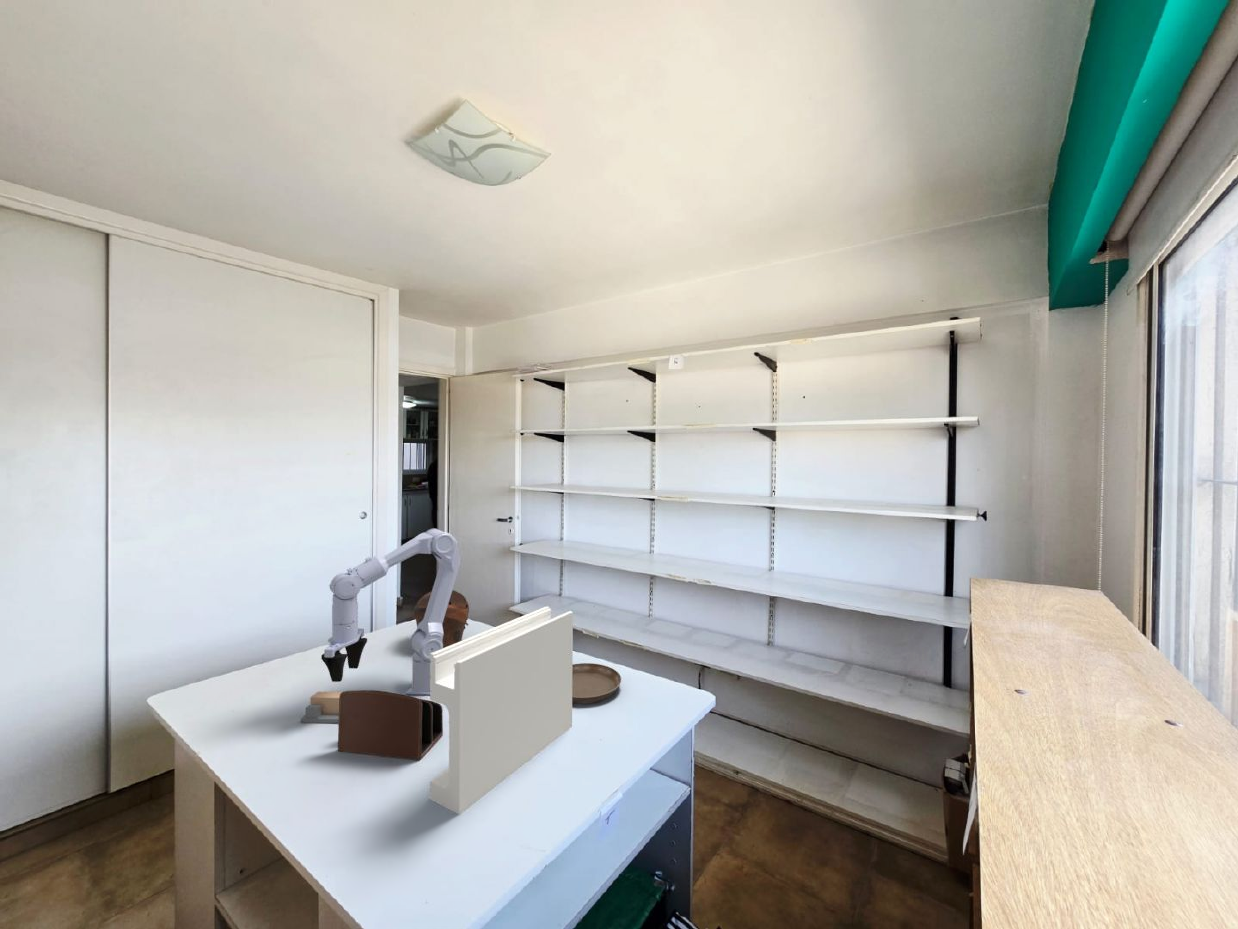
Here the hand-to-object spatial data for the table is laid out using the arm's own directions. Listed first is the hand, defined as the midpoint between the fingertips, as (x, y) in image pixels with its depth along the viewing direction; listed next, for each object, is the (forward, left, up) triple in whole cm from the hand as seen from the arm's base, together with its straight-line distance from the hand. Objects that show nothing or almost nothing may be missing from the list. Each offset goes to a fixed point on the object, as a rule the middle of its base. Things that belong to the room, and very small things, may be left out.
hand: (345, 674), depth 129 cm
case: (-8, -43, -10) cm, 45 cm away
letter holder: (-18, +14, -10) cm, 25 cm away
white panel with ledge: (-46, +18, -10) cm, 51 cm away
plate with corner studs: (0, +2, -9) cm, 10 cm away
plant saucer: (-59, -15, -10) cm, 62 cm away
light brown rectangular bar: (0, +2, -8) cm, 9 cm away
